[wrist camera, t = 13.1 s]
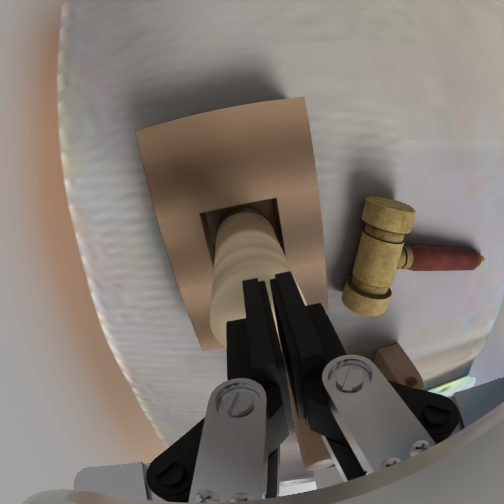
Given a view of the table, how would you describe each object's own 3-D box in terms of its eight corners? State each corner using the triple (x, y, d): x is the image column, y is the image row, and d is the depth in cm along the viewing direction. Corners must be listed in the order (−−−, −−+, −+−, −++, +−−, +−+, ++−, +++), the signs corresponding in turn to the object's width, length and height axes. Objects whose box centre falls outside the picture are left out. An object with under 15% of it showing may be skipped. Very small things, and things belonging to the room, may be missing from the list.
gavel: (506, 229, 23) (480, 302, 27) (481, 217, 27) (459, 286, 31) (385, 206, 19) (353, 319, 23) (356, 192, 23) (334, 292, 27)
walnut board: (151, 131, 19) (135, 131, 16) (290, 103, 19) (304, 96, 16) (204, 322, 27) (202, 350, 23) (315, 300, 27) (328, 325, 23)
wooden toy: (400, 340, 31) (496, 498, 8) (388, 375, 33) (461, 518, 10) (282, 363, 30) (333, 581, 7) (281, 397, 33) (319, 578, 10)
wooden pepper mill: (211, 207, 21) (196, 288, 10) (264, 196, 21) (305, 266, 10) (222, 255, 23) (222, 364, 12) (272, 245, 23) (312, 346, 12)
